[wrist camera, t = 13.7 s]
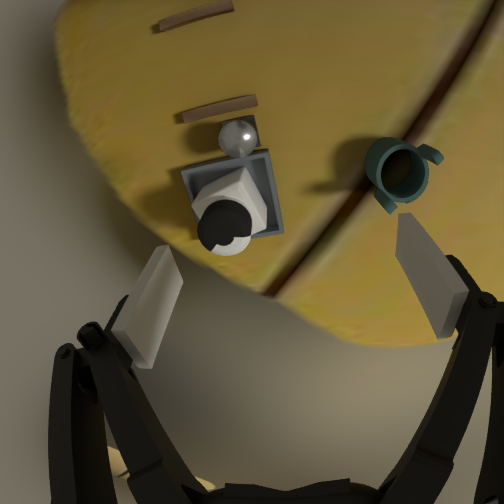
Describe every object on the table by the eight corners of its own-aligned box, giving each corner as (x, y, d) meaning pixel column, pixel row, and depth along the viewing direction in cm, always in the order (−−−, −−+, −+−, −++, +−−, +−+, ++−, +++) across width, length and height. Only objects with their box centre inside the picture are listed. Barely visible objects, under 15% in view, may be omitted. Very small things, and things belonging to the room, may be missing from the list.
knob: (221, 121, 36) (214, 125, 32) (254, 114, 36) (252, 117, 31) (229, 152, 39) (223, 161, 34) (261, 145, 38) (260, 153, 33)
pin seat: (161, 23, 28) (158, 21, 27) (231, 2, 27) (230, -1, 26) (187, 122, 37) (184, 123, 35) (257, 105, 35) (257, 105, 34)
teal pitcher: (361, 190, 40) (381, 216, 33) (367, 131, 36) (392, 143, 28) (412, 194, 40) (438, 219, 32) (420, 138, 35) (451, 153, 28)
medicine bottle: (201, 186, 41) (178, 222, 31) (245, 165, 39) (235, 194, 29) (225, 225, 44) (212, 271, 34) (267, 207, 42) (266, 249, 32)
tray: (185, 166, 40) (180, 171, 38) (268, 148, 38) (268, 152, 36) (207, 238, 46) (204, 246, 44) (283, 225, 44) (284, 233, 42)
